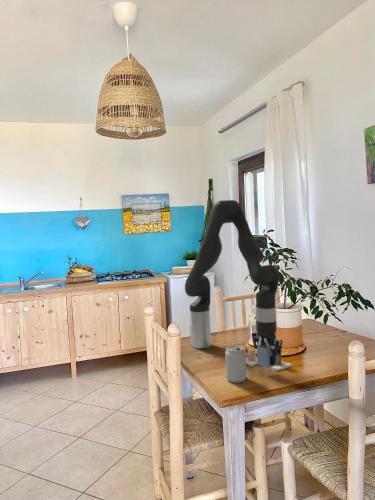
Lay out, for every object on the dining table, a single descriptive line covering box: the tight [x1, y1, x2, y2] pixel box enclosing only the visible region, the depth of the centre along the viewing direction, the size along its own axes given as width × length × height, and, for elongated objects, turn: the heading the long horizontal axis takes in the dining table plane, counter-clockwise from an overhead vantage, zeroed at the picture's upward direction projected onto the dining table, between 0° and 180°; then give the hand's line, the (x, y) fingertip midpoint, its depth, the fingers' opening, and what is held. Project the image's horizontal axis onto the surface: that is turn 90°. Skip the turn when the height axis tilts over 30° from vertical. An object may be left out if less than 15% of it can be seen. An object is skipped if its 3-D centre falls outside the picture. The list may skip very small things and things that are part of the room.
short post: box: [246, 348, 258, 367], centre depth 162 cm, size 7×7×5 cm
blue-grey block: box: [256, 345, 277, 369], centre depth 147 cm, size 5×5×7 cm
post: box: [269, 353, 293, 372], centre depth 156 cm, size 8×8×7 cm
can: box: [224, 345, 248, 384], centre depth 144 cm, size 8×8×12 cm
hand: (267, 362), depth 148 cm, fingers closed on blue-grey block, 5 cm apart
